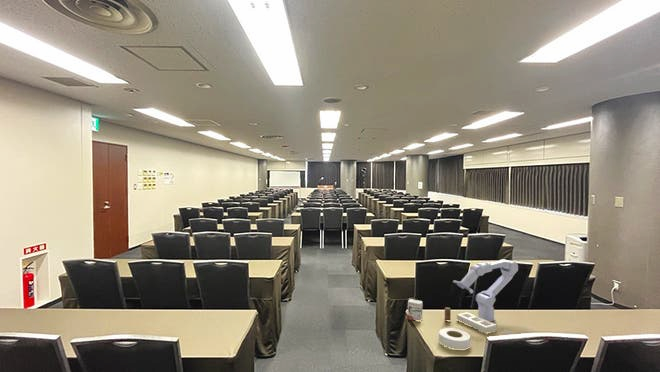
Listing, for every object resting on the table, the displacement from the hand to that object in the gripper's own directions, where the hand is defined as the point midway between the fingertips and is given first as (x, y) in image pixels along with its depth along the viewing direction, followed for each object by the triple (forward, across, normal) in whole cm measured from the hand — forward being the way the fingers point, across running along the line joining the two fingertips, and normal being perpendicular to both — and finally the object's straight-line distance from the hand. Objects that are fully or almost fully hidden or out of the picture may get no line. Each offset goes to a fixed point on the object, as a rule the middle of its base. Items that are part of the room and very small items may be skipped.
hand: (454, 296), depth 201 cm
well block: (+3, +10, +18) cm, 21 cm away
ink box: (+26, -12, +2) cm, 29 cm away
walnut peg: (+12, -2, +12) cm, 18 cm away
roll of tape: (+24, +22, -2) cm, 32 cm away
